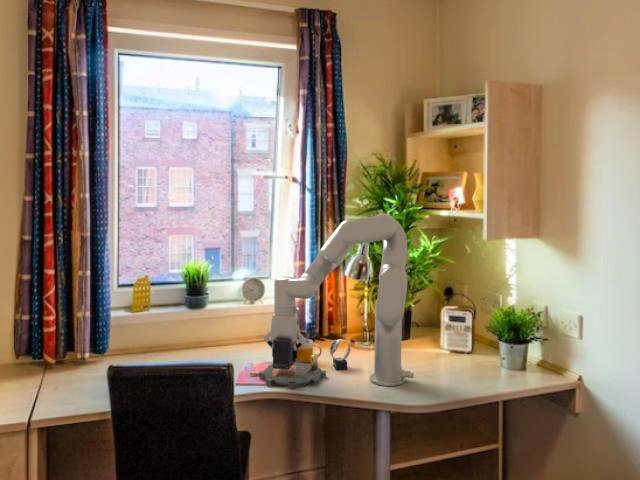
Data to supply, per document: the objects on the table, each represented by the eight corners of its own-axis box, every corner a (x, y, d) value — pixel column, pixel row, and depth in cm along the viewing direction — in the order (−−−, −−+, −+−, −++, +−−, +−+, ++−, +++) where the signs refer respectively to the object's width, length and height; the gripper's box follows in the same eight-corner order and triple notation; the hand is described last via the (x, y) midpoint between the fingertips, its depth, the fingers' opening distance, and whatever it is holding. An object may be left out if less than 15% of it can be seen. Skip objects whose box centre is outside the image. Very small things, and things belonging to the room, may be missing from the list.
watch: (328, 366, 216) (328, 338, 215) (348, 365, 217) (348, 337, 217) (331, 370, 210) (331, 342, 210) (351, 369, 212) (351, 341, 211)
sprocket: (293, 362, 219) (293, 345, 218) (339, 376, 203) (339, 357, 202) (245, 377, 201) (245, 358, 201) (292, 393, 185) (292, 372, 184)
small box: (289, 370, 196) (289, 341, 195) (272, 369, 198) (272, 340, 197) (297, 361, 207) (297, 333, 206) (280, 360, 208) (280, 332, 207)
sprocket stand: (309, 374, 206) (309, 371, 206) (303, 383, 196) (303, 380, 196) (254, 370, 210) (254, 367, 210) (246, 379, 200) (246, 376, 200)
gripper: (310, 309, 203) (310, 358, 204) (264, 307, 206) (264, 355, 207) (306, 314, 195) (305, 364, 197) (258, 312, 198) (258, 361, 200)
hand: (284, 359), depth 202 cm, fingers closed on small box, 6 cm apart
